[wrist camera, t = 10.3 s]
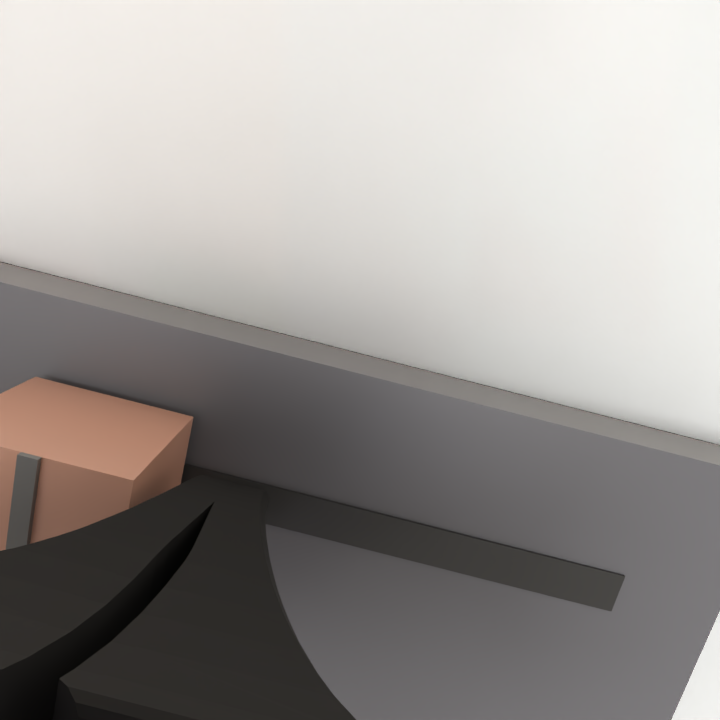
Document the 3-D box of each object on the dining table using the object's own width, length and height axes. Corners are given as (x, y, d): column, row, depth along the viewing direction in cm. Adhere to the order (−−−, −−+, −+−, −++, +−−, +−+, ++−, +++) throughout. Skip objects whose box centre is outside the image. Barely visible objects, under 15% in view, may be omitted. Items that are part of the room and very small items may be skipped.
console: (529, 939, 17) (542, 1011, 15) (-448, 692, 17) (-533, 741, 15) (736, 449, 13) (780, 481, 12) (-493, 136, 13) (-608, 128, 12)
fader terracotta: (166, 557, 13) (100, 659, 10) (17, 519, 13) (-91, 611, 10) (193, 416, 12) (130, 483, 9) (35, 376, 12) (-76, 431, 9)
